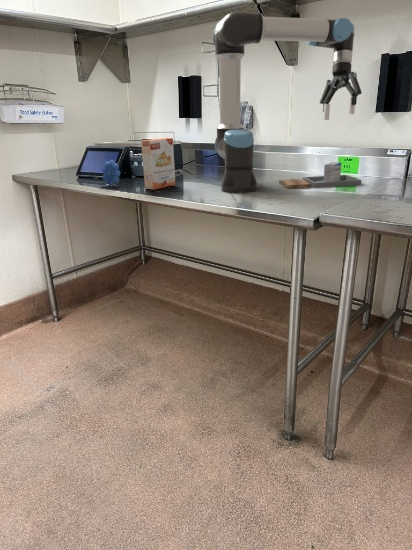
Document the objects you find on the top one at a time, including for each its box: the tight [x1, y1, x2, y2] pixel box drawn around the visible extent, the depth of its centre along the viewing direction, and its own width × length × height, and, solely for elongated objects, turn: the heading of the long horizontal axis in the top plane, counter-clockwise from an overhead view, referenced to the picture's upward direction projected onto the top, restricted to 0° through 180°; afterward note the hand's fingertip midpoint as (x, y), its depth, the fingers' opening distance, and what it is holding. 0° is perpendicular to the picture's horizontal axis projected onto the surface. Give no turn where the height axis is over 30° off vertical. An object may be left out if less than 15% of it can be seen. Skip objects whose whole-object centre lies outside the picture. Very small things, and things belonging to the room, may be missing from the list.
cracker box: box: [140, 137, 176, 189], centre depth 179 cm, size 14×6×21 cm, turn 141°
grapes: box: [101, 159, 121, 185], centre depth 190 cm, size 12×7×12 cm, turn 54°
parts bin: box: [302, 174, 362, 189], centre depth 176 cm, size 20×15×2 cm
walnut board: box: [278, 178, 312, 190], centre depth 175 cm, size 10×13×2 cm
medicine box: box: [323, 161, 342, 182], centre depth 174 cm, size 8×4×9 cm, turn 143°
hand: (338, 116), depth 175 cm, fingers open, 13 cm apart
